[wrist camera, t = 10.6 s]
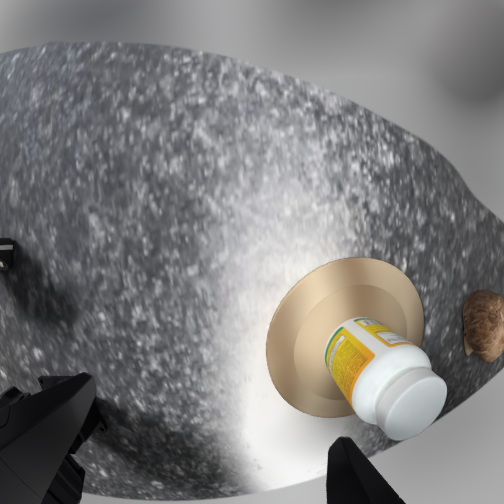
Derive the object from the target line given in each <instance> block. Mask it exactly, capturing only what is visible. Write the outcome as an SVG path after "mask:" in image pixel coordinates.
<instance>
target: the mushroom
mask: <svg viewBox="0 0 504 504" xmlns="http://www.w3.org/2000/svg"><path fill="white" fill-rule="evenodd" d="M462 317H463V323H464V329H465V330H464V345H465V351H466V354H467V356H469V355H470V354H471V353H472V352H473V351H474V352H475V353H476V355H477V356H478V357H479V358H480V359H481V360H483V361H485V362H488V363H491V362H493V361H494V360H495V359H497V358H498V357H499V356H500V355H501V354H502V352H503V350H504V299H503V298H502V297H501V296H499V295H498V294H497V293H495V292H492V291H488V290H477V291H474V292H473V293H472V294H471V295H470V296H469V298H468V299H467V300H466V302H465V304H464V308H463V314H462Z"/></svg>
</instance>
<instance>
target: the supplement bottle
mask: <svg viewBox="0 0 504 504" xmlns="http://www.w3.org/2000/svg"><path fill="white" fill-rule="evenodd" d="M324 362H325V365H326V368H327V370H328V371H329V373H330V374H331V376H332V377H333V379H334V381H335V382H336V384H337V385H338V387H339V388H340V390H341V391H342V393H343V394H344V396H345V397H346V399H347V400H348V402H349V403H350V405H351V406H352V408H353V409H354V411H355V413H356V414H357V415H358V416H359V417H360V418H361V419H362V420H363V421H365V422H367V423H370V424H374V425H378V426H379V427H380V428H381V429H382V430H383V431H384V433H385V434H386V435H387V436H388V437H389V438H391V439H393V440H406V439H409V438H412V437H414V436H416V435H418V434H419V433H421V432H422V431H424V430H425V429H426V428H427V427H428V426H429V425H430V424H431V423H432V422H433V421H434V420H435V419H436V417H437V416H438V415H439V413H440V412H441V410H442V408H443V406H444V403H445V400H446V396H447V387H446V384H445V382H444V381H443V379H441V378H440V377H439V376H437V375H436V374H435V373H434V372H433V371H432V370H431V364H430V361H429V358H428V356H427V355H426V354H425V352H424V351H423V350H421V349H420V348H419V347H417V346H416V345H414V344H413V343H411V342H409V341H408V340H406V339H405V338H403V337H401V336H400V335H398V334H396V333H395V332H393V331H391V330H390V329H388V328H387V327H385V326H383V325H382V324H380V323H379V322H377V321H375V320H373V319H371V318H367V317H356V318H352V319H349V320H347V321H345V322H343V323H342V324H340V325H339V326H338V327H337V328H336V329H335V330H334V331H333V333H332V334H331V335H330V337H329V339H328V341H327V343H326V346H325V349H324Z"/></svg>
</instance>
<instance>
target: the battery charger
mask: <svg viewBox="0 0 504 504" xmlns="http://www.w3.org/2000/svg"><path fill="white" fill-rule="evenodd" d="M12 249H13V245H12V239H11V238H0V270H8V269H10V267H11V264H12Z"/></svg>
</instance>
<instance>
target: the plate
mask: <svg viewBox="0 0 504 504" xmlns="http://www.w3.org/2000/svg"><path fill="white" fill-rule="evenodd" d="M356 317H367V318H371V319H373V320H375V321H377V322H379V323H380V324H382V325H383V326H385V327H387V328H388V329H390V330H391V331H393V332H395V333H396V334H398V335H400V336H401V337H403V338H405V339H406V340H408V341H409V342H411V343H413V344H414V345H416V346H417V347H419V348H420V346H421V343H422V338H423V331H424V315H423V308H422V304H421V300H420V298H419V295H418V292H417V291H416V289H415V287H414V285H413V284H412V282H411V281H410V280H409V278H408V277H407V276H406V275H405V274H404V273H402V272H401V271H400V270H399V269H397V268H396V267H394V266H392V265H390V264H388V263H386V262H383V261H380V260H376V259H370V258H362V257H353V258H344V259H339V260H335V261H332V262H329V263H327V264H325V265H322V266H320V267H318V268H316V269H315V270H313V271H312V272H310V273H308V274H307V275H306V276H304V277H303V278H302V279H301V280H300V281H298V282H297V283H296V284H295V285H294V286H293V287H292V288H291V289H290V291H289V292H288V293H287V294H286V296H285V297H284V298H283V300H282V301H281V303H280V304H279V306H278V308H277V310H276V311H275V314H274V316H273V318H272V321H271V323H270V327H269V330H268V334H267V341H266V359H267V365H268V369H269V373H270V376H271V379H272V382H273V384H274V386H275V388H276V390H277V391H278V392H279V394H280V395H281V396H282V398H283V399H284V400H285V401H286V402H287V403H289V404H290V405H291V406H293V407H294V408H296V409H297V410H299V411H301V412H303V413H306V414H309V415H312V416H317V417H324V418H336V417H344V416H349V415H353V414H356V413H355V411H354V409H353V408H352V406H351V405H350V403H349V402H348V400H347V399H346V397H345V396H344V394H343V393H342V391H341V390H340V388H339V387H338V385H337V384H336V382H335V381H334V379H333V377H332V376H331V374H330V373H329V371H328V370H327V368H326V365H325V362H324V349H325V346H326V343H327V341H328V339H329V337H330V335H331V334H332V333H333V331H334V330H335V329H336V328H337V327H338V326H339V325H340V324H342V323H343V322H345V321H347V320H349V319H352V318H356Z"/></svg>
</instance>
